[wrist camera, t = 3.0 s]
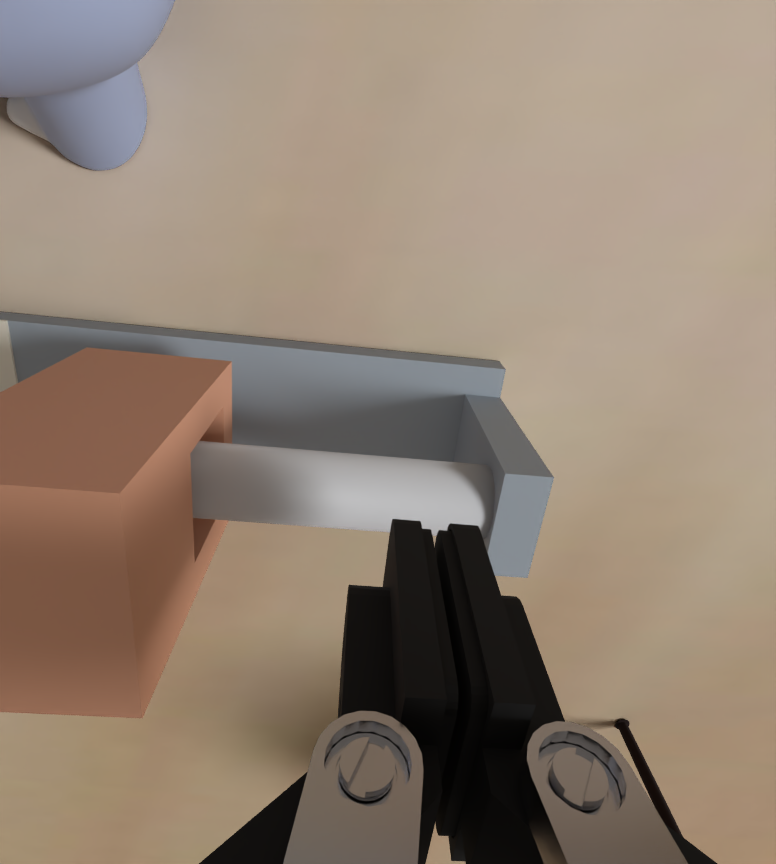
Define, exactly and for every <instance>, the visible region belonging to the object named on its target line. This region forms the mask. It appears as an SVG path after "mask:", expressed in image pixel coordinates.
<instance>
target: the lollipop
mask: <svg viewBox="0 0 776 864" xmlns="http://www.w3.org/2000/svg"><path fill="white" fill-rule="evenodd" d="M628 726H629V721H627V720H619V721H618V722H617V723H616V724H615V727H616V728H617V729H619V730H620V732H621V735H622V737H623V739H624V741H625V743H626V746H627V748H628V750H629V752H630V754H631V757H632V759H633V761H634V763H635V765H636V768H637V770H638V772H639V774H640V776H641V778H642V781H643V783H644V785H645V787H646V789H647V791H648V794H649V796H650V798H651V800H652V802H653V804H654V807H655V809H656V810H657V812H658V814H659V815H660V817H661V819H662V820H663V822H664V823H665V824H666V825H667V826H669V827H670V828H671V829H673V830H674V831H675V832H677V833H678V834H679V835H680V836H682V834H681V832H680V830H679V828H678V826H677V824H676V822H675V820H674V818H673V816H672V814H671V812H670V809H669V807H668V805H667V803H666V801H665V799H664V797H663V795H662V793H661V791H660V789H659V787H658V785H657V783H656V781H655V779H654V777H653V775H652V773H651V771H650V769H649V767H648V765H647V763H646V761H645V759H644V757H643V755H642V753H641V751H640V749H639V747H638V745H637V743H636V741H635V739H634V737H633V735H632V733H631V731H630V729H629V727H628ZM682 837H683V836H682Z"/></svg>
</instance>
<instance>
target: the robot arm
mask: <svg viewBox="0 0 776 864" xmlns="http://www.w3.org/2000/svg"><path fill="white" fill-rule="evenodd" d="M435 821H436V829H437V833H438V835H439V836H449V844H450V853H451V861H466V864H717V863H716V862H714V861H713V860H712V859H710V858H709V857H708V856H706V855H705V854H704V853H703V852H701V851H700V850H699V849H697V848H696V847H695V846H693V845H692V844H691V843H690V842H688V841H687V840H686V839H684V838H683V837H682V836H680V835H679V834H678V833H677V832H675V831H674V830H673V829H671V828H670V827H669V826H667V825H666V824H665V823H664V822H663V820H662V819H661V817H660V815H659V814H658V812H657V810H656V809H655V807H654V805H653V804H652V802H651V800H650V798H649V797H648V795H647V793H646V792H645V790H644V788H643V787H642V785H641V783H640V782H639V780H638V778H637V777H636V775H635V773H634V772H633V770H632V768H631V766H630V765H629V763H628V762H627V761H626V759H625V758H624V757H623V755H622V754H621V753H620V751H619V750H618V749H617V748H616V747H615V746H614V745H612V744H611V743H610V742H609V741H608V740H607V739H606V738H605V737H603V736H602V735H600V734H598V733H597V732H595V731H593V730H591V729H590V728H588V727H585V726H582V725H579V724H576V723H573V722H565V720H564V718H563V715H562V712H561V709H560V707H559V704H558V701H557V698H556V696H555V693H554V690H553V687H552V685H551V682H550V679H549V676H548V674H547V671H546V668H545V665H544V663H543V660H542V657H541V654H540V652H539V649H538V646H537V644H536V641H535V638H534V635H533V633H532V630H531V627H530V624H529V622H528V619H527V616H526V613H525V611H524V608H523V605H522V603H521V601H520V599H518V598H517V597H514V596H501V594H500V591H499V587H498V584H497V581H496V578H495V575H494V572H493V569H492V565H491V562H490V559H489V556H488V553H487V550H486V547H485V544H484V540H483V537H482V534H481V531H480V528H479V526H477V525H464V524H452V523H450V524H449V526H448V528H447V531H446V530H439V531H438V533H437V537H436V542H435V548H434V542H433V537H432V531H431V529H422V525H421V522H420V521H414V520H401V519H392V523H391V529H390V536H389V544H388V551H387V559H386V566H385V574H384V581H383V587H371V586H357V585H349V587H348V595H347V605H346V615H345V625H344V637H343V649H342V662H341V677H340V692H339V707H338V719H336V720H334V721H333V722H331V723H330V724H329V725H328V726H327V728H326V729H325V730H324V731H323V732H322V733H321V734H320V736H319V738H318V741H317V743H316V745H315V747H314V750H313V753H312V757H311V761H310V765H309V768H308V772H307V773H305V774H304V775H303V776H302V777H301V778H300V779H298V780H297V781H296V782H295V783H294V784H292V785H291V786H290V787H289V788H288V789H287V790H285V791H284V792H283V793H282V794H281V795H280V796H278V797H277V798H276V799H275V800H274V801H272V802H271V803H270V804H269V805H268V806H267V807H265V808H264V809H263V810H262V811H261V812H259V813H258V814H257V815H256V816H255V817H254V818H252V819H251V820H250V821H249V822H248V823H247V824H245V825H244V826H243V827H242V828H241V829H239V830H238V831H237V832H236V833H235V834H234V835H232V836H231V837H230V838H229V839H228V840H226V841H225V842H224V843H223V844H222V845H221V846H219V847H218V848H217V849H216V850H215V851H213V852H212V853H211V854H210V855H209V856H208V857H206V858H205V859H204V860H203V861H202V862H201V863H199V864H425V863H426V858H427V854H428V850H429V846H430V842H431V837H432V833H433V829H434V825H435Z"/></svg>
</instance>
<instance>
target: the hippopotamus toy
mask: <svg viewBox="0 0 776 864" xmlns="http://www.w3.org/2000/svg"><path fill="white" fill-rule="evenodd" d="M174 2H175V0H0V97H6V98H8V101H7V114H8V117H9V118H10V120H11V121H12V122H13V123H15V124H16V125H18V126H20V127H22V128H23V129H25V130H27V131H29V132H31V133H32V134H34V135H36V136H39V137H41V138H43V139H45V140H47V141H49V142H50V143H52V144H53V145H54V146H55V147H56V148H57V150H58V151H59V152H60V153H61V154H62V155H64V156H65V157H66V158H67V159H69V160H70V161H72V162H74V163H76V164H78V165H80V166H82V167H85V168H88V169H91V170H109V169H113V168H116V167H118V166H120V165H122V164H124V163H125V162H126V161H128V160H129V159H130V158H131V157H132V156H133V154H134V153H135V152H136V150H137V149H138V147H139V145H140V143H141V140H142V138H143V135H144V132H145V127H146V121H147V104H146V96H145V92H144V87H143V84H142V80H141V76H140V72H139V68H138V64H137V62H138V61H139V60H140V59H141V58H142V57H143V56H144V55H145V54H146V53H147V52H148V51H149V50H150V48H151V47H152V46H153V44H154V43H155V41H156V40H157V38H158V36H159V35H160V33H161V31H162V29H163V27H164V25H165V23H166V21H167V19H168V16H169V14H170V12H171V9H172V7H173V4H174Z"/></svg>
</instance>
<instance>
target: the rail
mask: <svg viewBox="0 0 776 864" xmlns="http://www.w3.org/2000/svg"><path fill="white" fill-rule="evenodd" d="M86 347H88V348H99V349H109V350H119V351H130V352H140V353H151V354H161V355H172V356H182V357H193V358H203V359H214V360H224V361H232V444H231V443H219V442H208V441H199V442H198V443H197V445H196V446H195V448H194V449H193V450H192V452H191V453H190V458H191V483H192V508H193V518H201V519H215V520H229V521H242V522H256V523H270V524H283V525H297V526H311V527H325V528H338V529H352V530H366V531H380V532H390V529H391V523H392V519H401V520H414V521H420V522H421V525H422V529H431V531H432V535H434V536H437V533H438V531H439V530H446V531H447V528H448V526H449V524H450V523H452V524H464V525H477V526H479V528H480V531H481V534H482V537H483V540H484V544H485V547H486V550H487V553H488V556H489V559H490V562H491V565H492V569H493V572H494V575H495V576H509V577H524V578H528V574H529V570H530V566H531V562H532V559H533V555H534V551H535V547H536V543H537V540H538V536H539V532H540V528H541V524H542V521H543V517H544V513H545V509H546V506H547V502H548V498H549V494H550V490H551V487H552V483H553V479H554V477H553V476H552V474H551V473H550V471H549V470H548V468H547V467H546V465H545V464H544V462H543V461H542V459H541V458H540V456H539V455H538V453H537V452H536V450H535V449H534V447H533V446H532V444H531V443H530V441H529V440H528V439H527V437H526V436H525V434H524V433H523V431H522V430H521V428H520V427H519V425H518V424H517V422H516V421H515V419H514V418H513V416H512V415H511V413H510V412H509V410H508V409H507V407H506V406H505V404H504V403H503V401H502V400H501V399H500V395H501V390H502V385H503V380H504V375H505V370H506V369H505V368H504V367H503V366H502V364H501V363H500V362H499V361H493V360H483V359H473V358H463V357H452V356H442V355H432V354H422V353H412V352H402V351H392V350H382V349H372V348H362V347H352V346H341V345H331V344H321V343H311V342H301V341H291V340H281V339H271V338H261V337H251V336H241V335H230V334H220V333H210V332H200V331H190V330H180V329H170V328H160V327H150V326H140V325H130V324H120V323H109V322H99V321H89V320H79V319H69V318H59V317H49V316H39V315H29V314H19V313H9V312H0V392H2V391H4V390H6V389H8V388H10V387H11V386H13V385H15V384H17V383H19V382H21V381H23V380H25V379H27V378H29V377H31V376H33V375H35V374H36V373H38V372H40V371H42V370H44V369H46V368H48V367H50V366H52V365H54V364H56V363H58V362H60V361H61V360H63V359H65V358H67V357H69V356H71V355H73V354H75V353H77V352H79V351H81V350H83V349H85V348H86Z"/></svg>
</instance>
